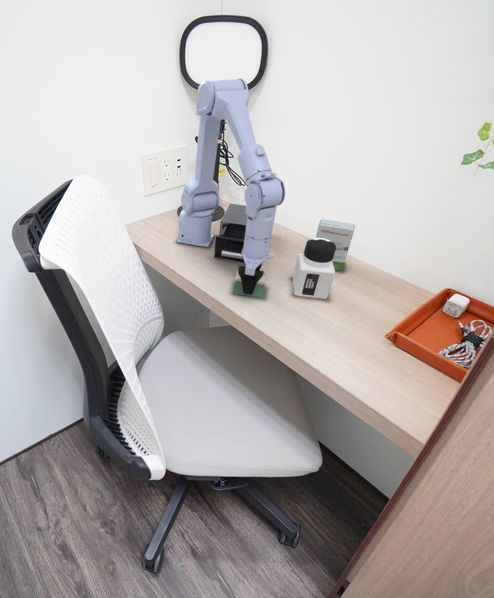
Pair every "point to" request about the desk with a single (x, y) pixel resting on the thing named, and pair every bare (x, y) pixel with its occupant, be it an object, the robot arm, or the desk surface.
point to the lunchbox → (258, 288)
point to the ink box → (337, 239)
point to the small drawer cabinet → (234, 216)
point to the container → (315, 269)
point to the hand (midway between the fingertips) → (250, 284)
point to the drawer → (230, 243)
